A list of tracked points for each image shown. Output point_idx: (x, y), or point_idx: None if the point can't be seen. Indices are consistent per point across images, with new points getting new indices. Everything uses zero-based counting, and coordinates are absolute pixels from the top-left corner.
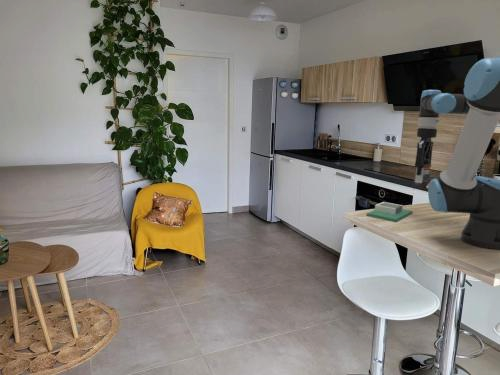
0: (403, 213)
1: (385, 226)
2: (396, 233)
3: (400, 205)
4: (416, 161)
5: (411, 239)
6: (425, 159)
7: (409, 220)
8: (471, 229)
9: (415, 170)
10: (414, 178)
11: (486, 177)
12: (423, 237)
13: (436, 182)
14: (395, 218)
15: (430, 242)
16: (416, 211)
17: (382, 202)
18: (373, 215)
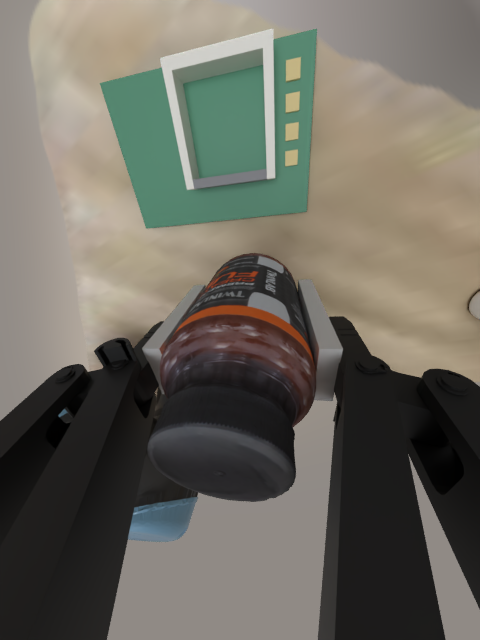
0: (236, 206)
1: (90, 228)
2: (80, 275)
3: (265, 169)
4: (20, 418)
5: (85, 310)
6: (210, 484)
7: (205, 247)
8: (157, 395)
9: (193, 307)
10: (215, 276)
11: (144, 534)
12: (118, 321)
13: None
14: (152, 221)
15: (108, 337)
16: (353, 206)
17: (251, 38)
18: (116, 128)
